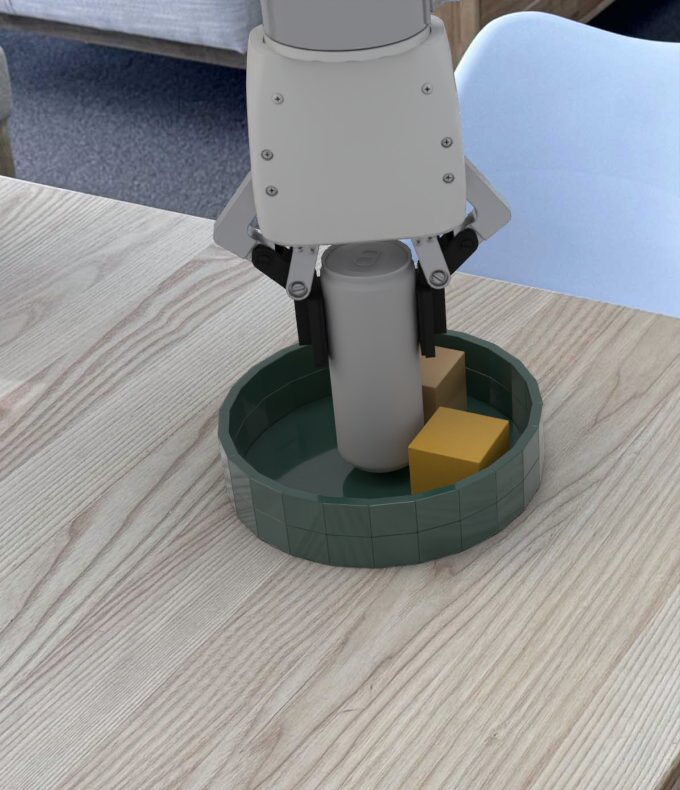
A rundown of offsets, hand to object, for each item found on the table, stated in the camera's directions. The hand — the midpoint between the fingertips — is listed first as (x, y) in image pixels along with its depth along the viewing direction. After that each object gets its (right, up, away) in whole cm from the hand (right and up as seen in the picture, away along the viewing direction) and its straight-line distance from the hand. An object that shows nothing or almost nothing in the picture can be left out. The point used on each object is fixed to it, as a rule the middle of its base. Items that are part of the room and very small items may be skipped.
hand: (373, 345), depth 73 cm
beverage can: (0, -6, +4) cm, 7 cm away
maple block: (+2, -4, +8) cm, 9 cm away
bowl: (0, -7, +4) cm, 8 cm away
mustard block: (+5, -8, +2) cm, 9 cm away
